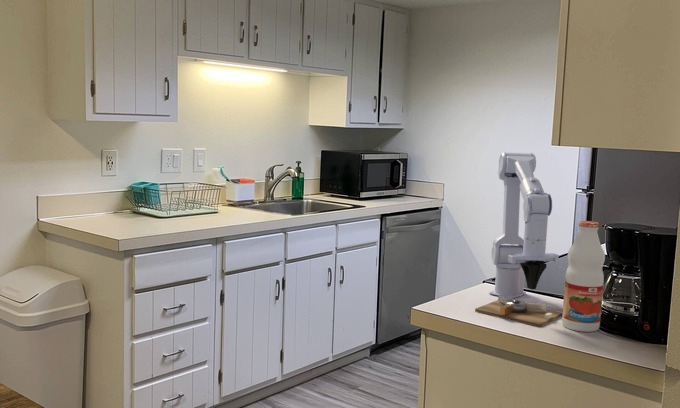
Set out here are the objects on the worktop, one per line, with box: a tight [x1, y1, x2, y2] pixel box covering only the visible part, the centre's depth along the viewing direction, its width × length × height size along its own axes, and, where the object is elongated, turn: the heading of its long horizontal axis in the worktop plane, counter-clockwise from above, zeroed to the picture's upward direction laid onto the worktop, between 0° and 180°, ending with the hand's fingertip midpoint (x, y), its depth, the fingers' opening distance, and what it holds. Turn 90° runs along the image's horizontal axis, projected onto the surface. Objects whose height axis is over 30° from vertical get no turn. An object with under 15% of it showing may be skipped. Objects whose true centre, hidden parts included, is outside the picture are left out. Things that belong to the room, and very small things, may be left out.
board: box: [474, 299, 563, 328], centre depth 183 cm, size 15×19×1 cm
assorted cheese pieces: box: [497, 295, 547, 315], centre depth 182 cm, size 13×15×3 cm
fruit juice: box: [561, 220, 606, 333], centre depth 171 cm, size 9×9×28 cm
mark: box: [545, 313, 553, 319], centre depth 177 cm, size 2×1×1 cm, turn 139°
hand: (531, 288), depth 176 cm, fingers closed
